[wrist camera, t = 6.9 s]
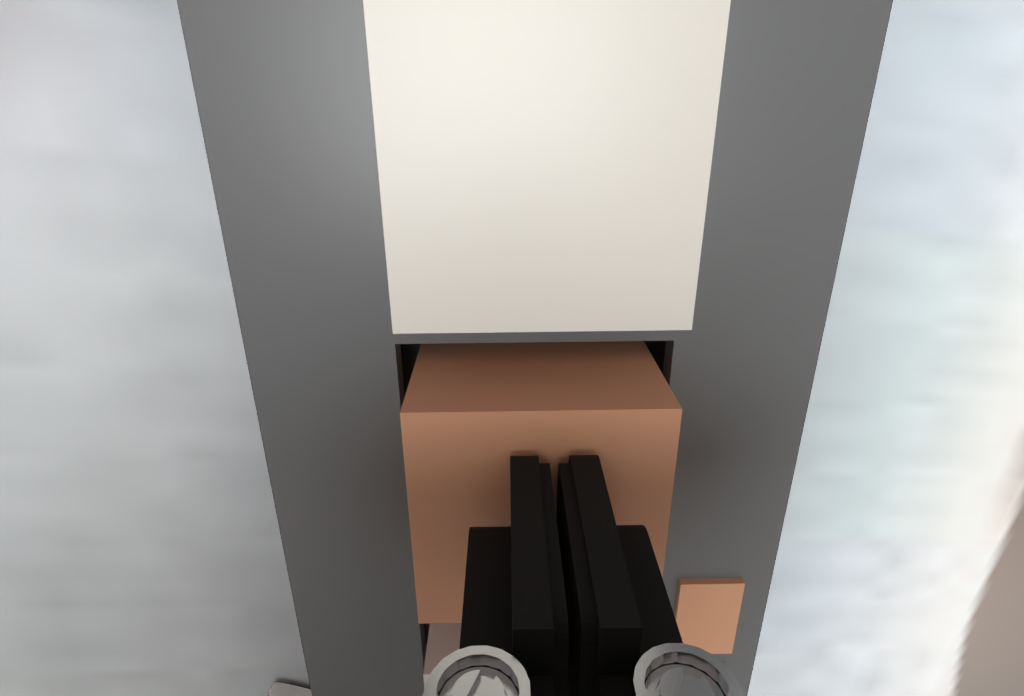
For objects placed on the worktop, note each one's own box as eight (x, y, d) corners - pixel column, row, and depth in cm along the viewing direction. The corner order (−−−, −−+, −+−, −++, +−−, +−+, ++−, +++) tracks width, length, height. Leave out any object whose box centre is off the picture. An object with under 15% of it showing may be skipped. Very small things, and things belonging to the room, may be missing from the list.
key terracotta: (623, 504, 16) (658, 619, 13) (436, 508, 16) (418, 623, 13) (637, 330, 14) (682, 408, 11) (424, 333, 14) (400, 412, 11)
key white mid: (642, 268, 14) (692, 330, 10) (420, 271, 14) (392, 334, 10) (662, 16, 12) (733, -15, 8) (402, 17, 12) (362, -13, 8)
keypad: (694, 639, 22) (737, 759, 18) (354, 646, 21) (323, 769, 17) (862, -457, 11) (1061, -757, 7) (191, -462, 11) (18, -772, 7)
